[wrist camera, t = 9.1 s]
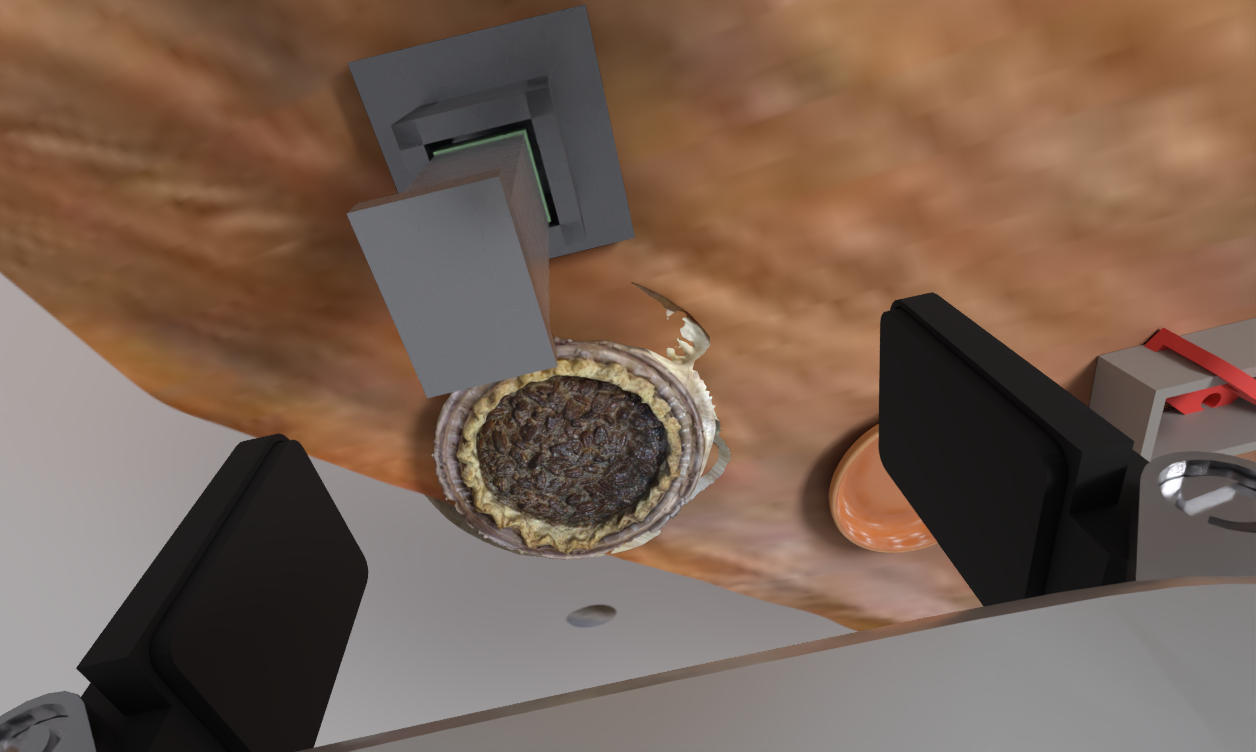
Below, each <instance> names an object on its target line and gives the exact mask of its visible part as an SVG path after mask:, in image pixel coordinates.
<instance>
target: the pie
mask: <svg viewBox="0 0 1256 752" xmlns="http://www.w3.org/2000/svg"><path fill="white" fill-rule="evenodd" d="M631 283H632V282H631ZM632 284H635V283H632ZM635 285H636V286H637V287H639V288H640V289H641V290H643V291H644V292H645V293H647V294H648V295H649V296H651V297H653V298H654V299H656V300H657V301H659V302H661V304H662V305H663V306H664V308H666V309H667V314H666V315H667V316H670V315H671V314H672V313H675V312H677V311H683V312H685V313H686V314H687V318H683V319H682V320H684V321H685V326H684V327H683V328H681V329H680V331H681V334H682V337H685V338H686V339H687V340H689V341H693V342H694V345H695V346H694V347H691V346H689V345H688V344H687V343H685V342H683V341H681V340H678V338H677V341H678V342H679V344H680V346H679V347H678V348H680V347H681V348H683V350H684V352H685V354H686V355H685V356H677V355H675V351H674V349H672V348H668V349H667V356H668V357H669V358H672V359H673V361H670V360H668V359H666V358H664V357H662V356H660V355H658V354H656V353H654V352H652V351H650V350H647V349H644V348H639V347H632V346H626V345H621V344H618V343H615V342H611V341H606V340H596V341H575V340H570V339H569V340H568V339H561V338H558V337H557V336H555V337H554V338H553V339H554V343H555V346H556V349H557V367H554V368H550V369H546V370H542V371H538V372H534V373H530V374H526V375H521V376H517V377H513V378H509V379H505V380H501V381H497V382H493V383H488V384H484V385H480V386H476V387H472V388H468V389H464V390H460V391H455V392H451V394H450V396H449V398H448V399H447V401H446V402H445V403H444V405H443V407H442V410H441V413H440V415H439V418H438V421H437V425H436V430H435V436H436V438H435V440H434V441H433V442H434V443H435V447H434V452H435V453H434V454H432V455H431V456H432V457H434V459H435V461H436V465H437V466H436V468H435V470H436V475H437V476H438V479H439V480H438V482H439V483H440V484H441V486H442V488H443V494H444V495H446V498H445V500H455V502H456V503H455V506H454V505H452V504H449V503H447V502H444V501H442V500H439V499H436V498H433V497H430V496H427V495H425V496H426V497H427V498H428V500H429V501H430V502H431V503H432V504H433V505H434V506H435V508H437V509H438V510H439V511H440V512H441V513H442V514H443V515H444V516H445V517H446V518H447V519H448V520H449V521H451V522H452V523H453V524H455V525H456V526H457V527H459V528H460V529H462V530H463V531H465V532H467V533H468V534H470V535H472V536H474V537H476V538H478V539H480V540H482V541H484V542H486V543H489V544H491V545H493V546H495V547H498V548H501V549H504V550H507V551H510V552H512V553H516V554H519V555H525V556H536V557H546V558H550V559H564V560H565V559H584V558H591V557H597V556H602V555H606V554H604V553H606V552H608V551H610V550H614V551H613V552H612V553H616V552H621V551H624V550H628V549H631V548H634V547H637V546H640V545H643V544H644V543H646V542H648V541H649V540H651V539H652V538H654V537H655V536H657V535H659V534H660V531H661V528H662V527H663V526H664V525H665V524H666V523H667V522H668V520H669V519H670V518H672V519H673V518H674V517H675V516H676V515H678V514H679V512H680V510H681V507H682V506H683V505H684V504H687V503H688V501H689V500H693V499H694V497H695V496H696V494H697V493H699V492H700V491H701V490H705V487H708V484H712V483H713V482H714V481H715V480H716V478H720V475H721V474H723V472H724V470H725V466H726V465H727V464H728V463H729V461H730V458H731V454H730V450H729V449H728V447H727V446H725V441H724V440H723V439H722V438H720V437H719V432H720V431H722V430H721V429H720V421H719V420H718V419H717V417H716V414H715V412H714V407H715V405H712V401H711V399H712V396H711V397H709V393H710V392H709V391H705V390H706V387H707V386H706V385H705V384H704V382H703V380H700V378H699V374H698V372H697V371H695V370H692V369H693V365H694V361H695V360H696V359H697V358H699V357H700V356H701V355H702V354H704V353H705V351H706V350H707V348H708V347H709V346H710V337H709V335H708V334H707V332H706V331H705V330H704V329H703V328H702V326H701V325H700V324H699V323H698V322H697V321H696V320H695V319H694V318H693V317H692V316H691V315H690V314H689V313H688V312H686V311H685V310H684V309H682V308H680V307H679V306H677V305H676V304H674V303H673V302H671V301H670V300H668V299H666V298H665V297H663V296H661V295H659V294H657V293H655V292H653V291H651V290H649V289H647V288H645V287H643V286H640V285H637V284H635ZM667 319H668V318H667ZM679 358H680V359H681V360H678V359H679ZM713 442H714V443H715V444H717V445H718V447H719V451H718V454H719V459H718V461H717V463H716V464H715V465H714V466H713V468H712V469H711V471H710V472H709V473H707V474H706V475H705V476H703V477H701V478H700V476H701V474H702V472H703V470H704V468H705V465H706V462H707V459H708V456H709V453H710V449H711V447H712V443H713ZM633 538H635V539H634V540H633ZM624 542H627V543H626V544H624V545H622V544H623V543H624ZM621 545H622V546H621Z"/></svg>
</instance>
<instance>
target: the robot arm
mask: <svg viewBox="0 0 1256 752" xmlns="http://www.w3.org/2000/svg"><path fill="white" fill-rule="evenodd" d="M1133 445H1134V441H1133V440H1132V439H1131V438H1129V437H1128V436H1127V435H1125V434H1124V433H1123V432H1121V431H1120V430H1119V429H1117V428H1116V427H1115V426H1113V425H1112V424H1111V423H1109V422H1108V421H1106V420H1105V419H1104V418H1102V417H1101V416H1100V415H1098V414H1097V413H1096V412H1094V411H1093V410H1092V409H1090V408H1089V407H1088V406H1086V405H1085V404H1084V403H1082V402H1081V401H1080V400H1078V399H1077V398H1076V397H1074V396H1073V395H1072V394H1070V393H1069V392H1067V391H1066V390H1065V389H1063V388H1062V387H1061V386H1059V385H1058V384H1057V383H1055V382H1054V381H1053V380H1051V379H1050V378H1049V377H1047V376H1046V375H1045V374H1043V373H1042V372H1041V371H1039V370H1038V369H1037V368H1035V367H1034V366H1033V365H1031V364H1030V363H1029V362H1027V361H1026V360H1024V359H1023V358H1022V357H1020V356H1019V355H1018V354H1016V353H1015V352H1014V351H1012V350H1011V349H1010V348H1008V347H1007V346H1006V345H1004V344H1003V343H1002V342H1000V341H999V340H998V339H996V338H995V337H994V336H992V335H991V334H990V333H988V332H987V331H986V330H984V329H983V328H981V327H980V326H979V325H977V324H976V323H975V322H973V321H972V320H971V319H969V318H968V317H967V316H965V315H964V314H963V313H961V312H960V311H959V310H957V309H956V308H955V307H953V306H952V305H951V304H949V303H948V302H947V301H945V300H944V299H943V298H941V297H940V296H938V295H937V294H935V293H927V294H922V295H918V296H913V297H908V298H904V299H899V300H895V301H894V302H893V303H892V306H891V308H890V311H887V312H884V313H883V314H882V316H881V322H880V379H879V441H878V448H879V455H880V459H881V462H882V464H883V467H884V468H885V470H886V472H887V473H888V474H889V476H890V477H891V479H892V480H893V481H894V483H895V484H896V485H897V487H898V488H899V490H900V491H901V492H902V494H903V495H904V497H905V498H906V499H907V501H908V502H909V504H910V505H911V506H912V508H913V509H914V510H915V512H916V513H917V515H918V516H919V517H920V519H921V520H922V522H923V523H924V524H925V526H926V527H927V528H928V530H929V531H930V533H931V534H932V535H933V537H934V538H935V540H936V541H937V542H938V544H939V545H940V546H941V548H942V549H943V551H944V552H945V553H946V555H947V556H948V558H949V559H950V560H951V562H952V563H953V565H954V566H955V567H956V569H957V570H958V571H959V573H960V574H961V576H962V577H963V578H964V580H965V581H966V583H967V584H968V585H969V587H970V588H971V589H972V591H973V592H974V594H975V595H976V596H977V598H978V599H979V601H980V602H981V603H982V605H983V606H984V607H980V608H974V609H969V610H964V611H959V612H953V613H948V614H943V615H938V616H932V617H927V618H922V619H917V620H912V621H908V622H903V623H898V624H893V625H888V626H883V627H879V628H874V629H869V630H864V631H859V632H855V633H850V634H845V635H840V636H836V637H830V638H826V639H821V640H816V641H811V642H806V643H802V644H797V645H792V646H787V647H782V648H778V649H773V650H768V651H763V652H758V653H754V654H748V655H744V656H739V657H734V658H729V659H724V660H720V661H715V662H710V663H705V664H701V665H696V666H691V667H686V668H682V669H677V670H672V671H668V672H663V673H658V674H653V675H649V676H644V677H639V678H635V679H630V680H626V681H621V682H616V683H612V684H606V685H602V686H597V687H593V688H588V689H583V690H578V691H574V692H569V693H564V694H560V695H555V696H550V697H546V698H541V699H536V700H531V701H527V702H522V703H517V704H513V705H509V706H503V707H499V708H494V709H490V710H485V711H480V712H475V713H471V714H467V715H462V716H457V717H453V718H448V719H443V720H439V721H434V722H430V723H426V724H421V725H416V726H411V727H407V728H402V729H398V730H393V731H389V732H384V733H379V734H375V735H370V736H366V737H361V738H357V739H352V740H347V741H343V742H339V743H334V744H329V745H325V746H321V747H316V748H314V745H315V742H316V738H317V735H318V732H319V729H320V726H321V723H322V720H323V717H324V714H325V711H326V708H327V704H328V701H329V698H330V695H331V692H332V689H333V686H334V683H335V680H336V676H337V674H338V670H339V667H340V664H341V661H342V658H343V655H344V652H345V649H346V646H347V643H348V640H349V636H350V633H351V630H352V627H353V624H354V620H355V618H356V615H357V612H358V608H359V605H360V602H361V599H362V596H363V593H364V590H365V587H366V584H367V579H368V566H367V562H366V559H365V557H364V555H363V553H362V551H361V550H360V548H359V546H358V544H357V543H356V541H355V539H354V537H353V535H352V534H351V532H350V530H349V529H348V526H347V525H346V523H345V521H344V519H343V518H342V516H341V514H340V512H339V511H338V509H337V507H336V505H335V503H334V501H333V500H332V498H331V496H330V494H329V493H328V491H327V489H326V487H325V485H324V484H323V482H322V480H321V479H320V477H319V475H318V473H317V471H316V469H315V468H314V466H313V464H312V462H311V460H310V459H309V457H308V455H307V453H306V452H305V450H304V448H303V447H302V445H301V444H300V443H299V442H298V441H296V440H289V439H288V438H287V437H286V436H284V435H282V434H274V435H270V436H265V437H261V438H256V439H251V440H247V441H243V442H240V443H239V444H238V445H237V446H236V447H235V449H234V450H233V452H232V453H231V455H230V456H229V457H228V459H227V460H226V461H225V463H224V464H223V465H222V467H221V468H220V470H219V471H218V472H217V474H216V475H215V477H214V478H213V479H212V481H211V482H210V483H209V485H208V486H207V488H206V489H205V490H204V492H203V493H202V494H201V496H200V497H199V499H198V500H197V501H196V503H195V504H194V506H193V507H192V508H191V510H190V511H189V513H188V514H187V515H186V517H185V518H184V520H183V521H182V522H181V524H180V525H179V526H178V528H177V529H176V531H175V532H174V533H173V535H172V536H171V538H170V539H169V540H168V542H167V543H166V544H165V546H164V547H163V549H162V550H161V551H160V553H159V554H158V556H157V557H156V558H155V560H154V561H153V562H152V564H151V565H150V567H149V568H148V569H147V571H146V572H145V573H144V575H143V576H142V578H141V579H140V580H139V582H138V583H137V585H136V586H135V587H134V589H133V590H132V592H131V593H130V594H129V596H128V597H127V599H126V600H125V601H124V603H123V604H122V605H121V607H120V608H119V609H118V611H117V612H116V614H115V615H114V616H113V618H112V619H111V621H110V622H109V623H108V625H107V626H106V628H105V629H104V630H103V632H102V633H101V634H100V636H99V637H98V639H97V640H96V641H95V643H94V644H93V646H92V647H91V648H90V650H89V651H88V652H87V654H86V655H85V657H84V658H83V659H82V661H81V662H80V664H79V665H78V666H77V668H76V669H77V670H78V671H79V672H81V673H82V674H83V675H84V676H85V677H86V678H87V679H88V680H89V681H90V682H91V683H90V685H89V686H88V688H87V689H86V691H85V692H84V694H83V695H82V696H81V697H80V696H79V695H78V694H75V693H71V692H67V691H63V692H55V693H48V694H45V695H42V696H40V697H37V698H35V699H32V700H29V701H26V702H25V703H23V704H21V705H19V706H17V707H16V708H14V709H12V710H10V711H8V712H6V713H5V714H3V715H1V716H0V752H1256V462H1253V461H1251V460H1247V459H1243V458H1239V457H1235V456H1231V455H1226V454H1222V453H1212V452H1202V451H1188V452H1174V453H1170V454H1167V455H1163V456H1160V457H1156V458H1155V459H1154V460H1152V461H1151V462H1149V461H1147V460H1146V459H1145V458H1144V457H1142V456H1141V455H1140V454H1138V453H1137V452H1136V451H1134V450H1133Z"/></svg>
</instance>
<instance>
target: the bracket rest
mask: <svg viewBox="0 0 1256 752" xmlns="http://www.w3.org/2000/svg"><path fill="white" fill-rule="evenodd" d="M1180 337H1182V338H1184V339H1186V340H1187V341H1189V342H1191V343H1193V344H1195V345H1197V346H1199V347H1201V348H1203V349H1204V350H1206V351H1208V352H1210V353H1212V354H1214V355H1216V356H1217V357H1219V358H1221V359H1223V360H1225V361H1226V362H1228V363H1230V364H1231V365H1233V366H1235V367H1237V368H1238V369H1240V370H1241V371H1243V372H1245V373H1246V374H1248V375H1249V376H1251V377H1253V378H1254V379H1256V318H1253V319H1248V320H1244V321H1240V322H1236V323H1232V324H1228V325H1224V326H1219V327H1215V328H1211V329H1207V330H1203V331H1199V332H1195V333H1190V334H1186V335H1182V336H1180ZM1223 384H1227V382H1225V381H1224V380H1223V379H1221V378H1220V377H1219V376H1217V375H1216V374H1214V373H1212V372H1210V371H1208V370H1206V369H1205V368H1203V367H1201V366H1199V365H1197V364H1196V363H1194V362H1192V361H1190V360H1188V359H1187V358H1185V357H1183V356H1181V355H1179V354H1178V353H1176V352H1174V351H1172V350H1170V349H1165V350H1161V351H1157V352H1154V351H1152V350H1150V349H1148V348H1146V347H1144V345H1141V346H1136V347H1132V348H1128V349H1124V350H1120V351H1116V352H1112V353H1107V354H1103V355H1099V356H1098V361H1097V367H1096V372H1095V378H1094V383H1093V389H1092V394H1091V400H1090V405H1089V408H1090V409H1092V410H1093V411H1094V412H1096V413H1097V414H1098V415H1100V416H1101V417H1102V418H1104V419H1105V420H1106V421H1108V422H1109V423H1111V424H1112V425H1113V426H1115V427H1116V428H1117V429H1119V430H1120V431H1121V432H1123V433H1124V434H1125V435H1127V436H1128V437H1129V438H1131V439H1132V440H1133V441H1134V445H1133V450H1134V451H1136V452H1137V453H1138V454H1140V455H1141V456H1142V457H1144V458H1145V459H1146V460H1147V461H1149V462H1151V461H1152V460H1154V459H1155V458H1156V457H1160V456H1163V455H1167V454H1170V453H1174V452H1188V451H1202V452H1212V453H1222V454H1226V455H1231V456H1233V455H1237V454H1241V453H1246V452H1250V451H1254V450H1256V405H1254V404H1252V403H1251V402H1249V401H1247V400H1245V399H1243V398H1242V397H1240V396H1239V397H1238V398H1237V399H1236V400H1235V401H1233V402H1232V403H1231V404H1227V405H1223V406H1218V407H1214V408H1211V407H1209V406H1207V405H1205V404H1203V403H1201V407H1202V408H1203V409H1205V410H1202V411H1198V412H1194V413H1190V414H1186V415H1185V414H1183V413H1182V412H1180V411H1179V410H1177V409H1171V410H1167V411H1163V408H1164V405H1165V401H1166V398H1169V397H1173V396H1178V395H1182V394H1186V393H1190V392H1194V391H1198V390H1202V389H1207V388H1211V387H1215V386H1219V385H1223Z"/></svg>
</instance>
